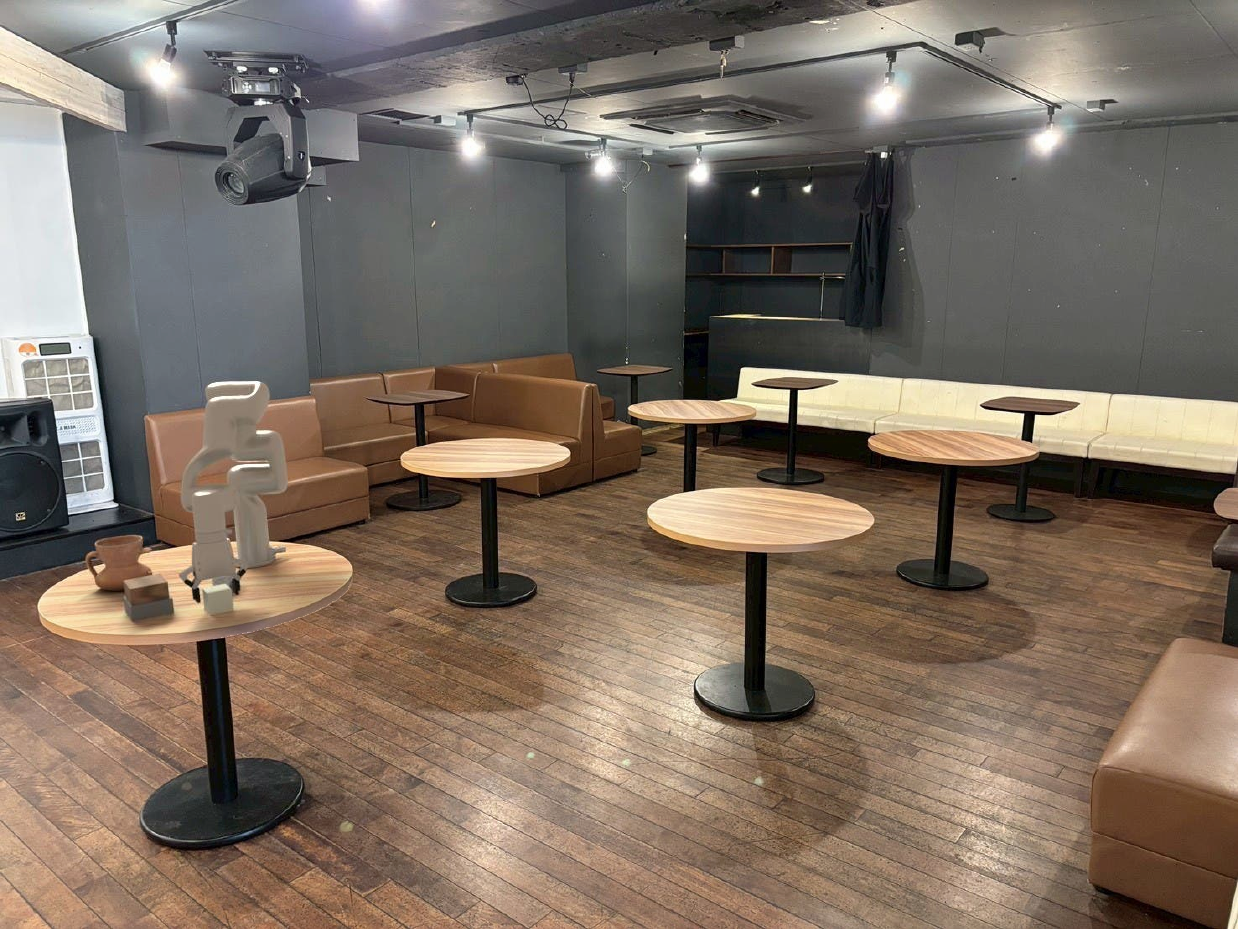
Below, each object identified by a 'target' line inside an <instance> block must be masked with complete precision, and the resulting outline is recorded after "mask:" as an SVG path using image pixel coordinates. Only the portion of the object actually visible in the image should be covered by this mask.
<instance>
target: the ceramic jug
mask: <svg viewBox="0 0 1238 929" xmlns="http://www.w3.org/2000/svg"><path fill="white" fill-rule="evenodd" d="M143 546H144V538H143V536H142V535H136V534H130V535H129V534H128V535H120V536H113V537H106V538H102V539H98V540H97V541H95V542H94V547H95V548H94V549H95V550H94V551H91V552H89V553H87V554H86V556H85V565H86V566H87V569H88V571H89V572H90V573H91V575H92V576H93V578H94V583H95V585H96V587H98V588H100V589H102V590H104V591H105V590H106V591H108V592H109V591H110V592H111V591H114V592H118V591H119V592H120V591H121V592H122V591H125V590H124V582H123V580H129V579H134V578H139V577H145V576H150V575H153V570H152V569H151V568H150V567H149V566H148V565H146V564H143V563H141V562H139V559H140V557H141V556H142V555H143V554H145V553H147V554H150V552H151V551H152V550H153V549H152V548H149V547H144V548H143ZM92 557H95V558H97V559H100V560H101V562H102V563H103V565H104V566H105V567H104V568H103V569H102V570H101V571H100V572H97V570H96V569H95V566H94V565H93V563H92Z"/></svg>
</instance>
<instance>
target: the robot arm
mask: <svg viewBox="0 0 1238 929" xmlns="http://www.w3.org/2000/svg"><path fill="white" fill-rule="evenodd" d="M204 391H205V393H204V394H205V397H206V401H207V403H206V405H205V409H204V421H203V422H204V423H203V437H202V448H200V450H199V451H198V452H197V453H196V454H195V455H194V456H193V457H192V458H191V459H190V461H189V462H188V463H187V465H186V467H185V469H184V471H183V473H182V477H181V491H180V502H181V506H182V507H183V509H184V510H185V511H186V512H188V513H192V516H193V526H194V535H195V542H192V545H191V546H192V548H191V565H190V566H189V567H187V568H186V569H184V570H183V571H181V572H180V573H179V574H178V576H179V578H180V580H182V582H183V583H184V584H185V585H186V586H188V587H190V588H191V594H192V600H193V601H195V602H196V603H197V604H200V603H201V602H202V601H201V591H200V588H199V585H200V584H201V583H202V581H203V582H204V581H211V580H212V579H215V578H221V577H226V576H230V575H231V576H232V577H233V579H232V585H231V588H232V594H234V595H235V596H239V595H240V593H239V592H240V591H241V580H242V577H244V575H245V574H246V571H247V570H248V569H252V568H258V567H264V566H268V565H271V564H273V563H274V562H276V559H277V557H276V555H277V554H281V553H285V552H286V551H287V550H286V546H285V545H283V546H279V545H276V546H271V545H270V537H269V535H270V534H269V526H268V513H267V507H266V505H265V502H264V501H263V500H262V499H261V498H260V496H259V495H276V494H282V493H284V492H286V490H287V488H288V484H289V478H288V476H289V475H288V469H287V462H286V453H285V446H284V441H283V438H282V436H281V434H280V433H279V432H278V431H275V430H257V429H256V426H255V425H258V424H259V423H260V422H261V421H262V418H263V417H264V414H265V413H266V411H267V409H268V407H269V404H270V398H271V396H270V395H271V394H270V390H269V387H268V385H266V383H264V382H263V381H219V382H212V383H210V384H208V385H207V386H206V387H205V390H204ZM228 458H229V459H231V460H232V461H234V462H239V463H250V464H238V465H235V466H232V467H231V468H230V469H229V470H228V471H227V474H226V481H227V482H226V483H219V484H218V483H215V484H214V483H213V484H212V483H211V484H197V479H198V478H199V476H200V474H201V473H202V472H203V471H205V470H206V469H207V468H208V467H210V466H213V465H214V464H216V463H218V462H220V461H223V460H225V459H228ZM254 462H256V463H254ZM257 462H259V463H257ZM261 462H266V463H261ZM251 463H252V464H251ZM230 511H233V512H232V513H233V522H234V530H235V532H234V533H235V541H236V542H235V543H236V551H237V553H236V554H237V557H236V558H235V555H234V550H233V547H232V546H233V545H232V543H231V540H230V538H229V537H228V536H229V535H232V534H233V530H232V528H227V525H226V516H225V513H229V512H230ZM237 568H239V570H238V571H237ZM236 571H237V572H236ZM190 574H192V576H193V579H192V580H190V579H188V576H189V575H190Z"/></svg>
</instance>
